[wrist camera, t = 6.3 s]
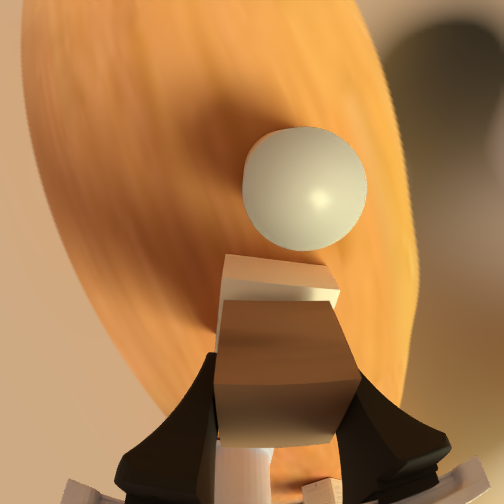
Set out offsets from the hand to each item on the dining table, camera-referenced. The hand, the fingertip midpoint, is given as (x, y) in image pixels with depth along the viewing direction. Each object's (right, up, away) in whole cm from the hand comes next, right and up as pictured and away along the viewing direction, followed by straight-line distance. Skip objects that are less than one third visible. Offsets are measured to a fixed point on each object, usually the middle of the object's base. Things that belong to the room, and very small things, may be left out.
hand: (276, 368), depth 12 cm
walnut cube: (0, +1, +2) cm, 2 cm away
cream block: (0, +2, +5) cm, 6 cm away
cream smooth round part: (+1, +10, +2) cm, 10 cm away
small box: (+12, -35, +22) cm, 42 cm away
